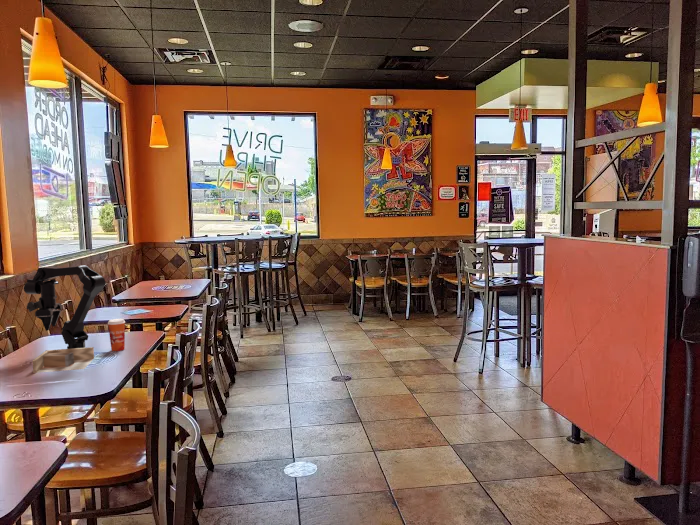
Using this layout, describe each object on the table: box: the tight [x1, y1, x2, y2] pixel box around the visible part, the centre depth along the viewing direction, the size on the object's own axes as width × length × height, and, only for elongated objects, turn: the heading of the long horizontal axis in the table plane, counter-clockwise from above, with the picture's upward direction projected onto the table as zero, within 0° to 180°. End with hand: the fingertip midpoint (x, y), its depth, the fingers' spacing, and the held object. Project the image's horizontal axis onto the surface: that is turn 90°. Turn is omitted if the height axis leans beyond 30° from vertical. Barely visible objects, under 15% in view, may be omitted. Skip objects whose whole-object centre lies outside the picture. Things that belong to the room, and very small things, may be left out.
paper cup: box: [107, 318, 126, 352], centre depth 248 cm, size 8×8×14 cm
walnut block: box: [43, 353, 74, 367], centre depth 222 cm, size 5×10×5 cm, turn 90°
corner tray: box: [31, 346, 95, 374], centre depth 222 cm, size 19×17×6 cm
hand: (50, 328), depth 242 cm, fingers open, 9 cm apart
